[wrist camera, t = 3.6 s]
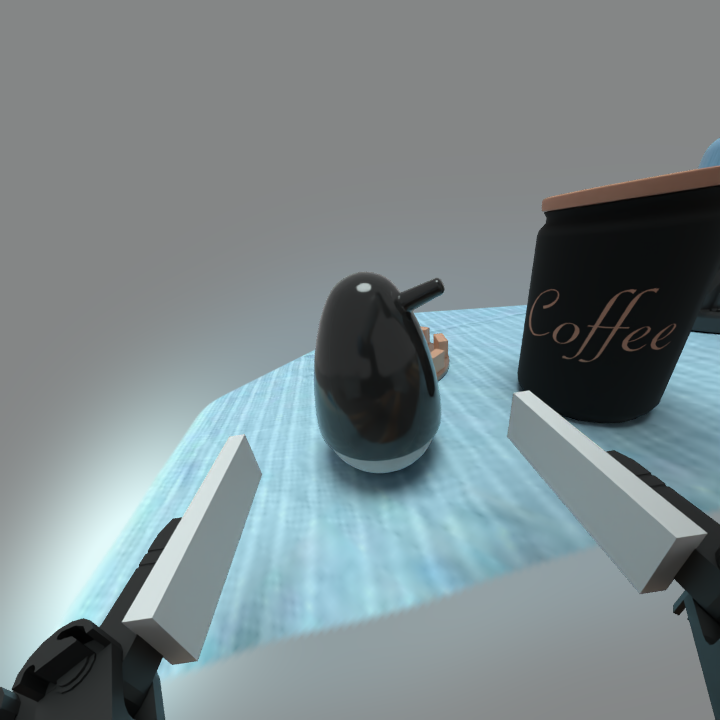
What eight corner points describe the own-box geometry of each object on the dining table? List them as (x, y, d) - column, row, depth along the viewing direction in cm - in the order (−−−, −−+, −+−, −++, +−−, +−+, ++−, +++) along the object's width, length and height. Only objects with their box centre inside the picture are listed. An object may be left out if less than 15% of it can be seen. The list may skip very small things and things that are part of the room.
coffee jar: (496, 395, 27) (517, 202, 20) (540, 360, 33) (570, 196, 25) (638, 448, 19) (766, 154, 12) (665, 389, 25) (766, 161, 17)
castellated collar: (434, 338, 44) (433, 319, 43) (466, 387, 30) (467, 362, 28) (342, 349, 45) (339, 331, 44) (331, 401, 31) (325, 377, 30)
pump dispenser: (438, 512, 17) (435, 279, 11) (306, 480, 21) (245, 295, 14) (447, 416, 25) (449, 254, 19) (352, 406, 29) (326, 268, 23)
